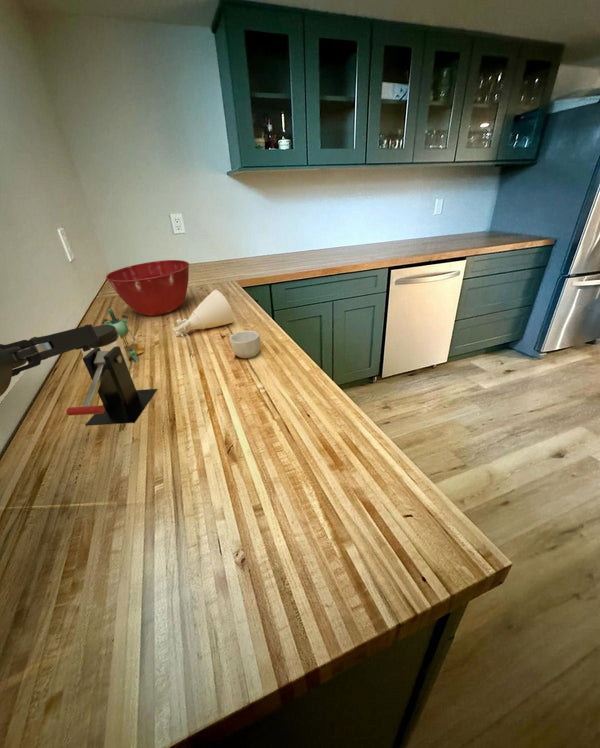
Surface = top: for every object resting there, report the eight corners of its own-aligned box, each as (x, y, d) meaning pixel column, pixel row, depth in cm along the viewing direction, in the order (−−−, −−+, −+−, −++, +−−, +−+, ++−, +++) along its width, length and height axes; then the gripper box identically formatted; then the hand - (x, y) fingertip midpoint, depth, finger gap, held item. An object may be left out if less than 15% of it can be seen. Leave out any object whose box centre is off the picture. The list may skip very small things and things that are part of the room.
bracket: (136, 427, 66) (111, 365, 59) (87, 429, 66) (56, 369, 59) (159, 393, 76) (139, 337, 69) (116, 395, 76) (92, 340, 69)
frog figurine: (109, 375, 85) (85, 318, 79) (111, 355, 101) (92, 306, 94) (148, 364, 89) (129, 309, 83) (145, 346, 104) (128, 299, 98)
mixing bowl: (153, 328, 112) (138, 282, 104) (104, 317, 125) (88, 275, 118) (213, 302, 132) (205, 261, 124) (165, 295, 146) (155, 258, 138)
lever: (104, 416, 59) (97, 409, 57) (71, 418, 59) (63, 411, 57) (124, 357, 67) (118, 349, 65) (95, 359, 67) (88, 351, 65)
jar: (128, 380, 82) (110, 335, 76) (92, 386, 81) (71, 341, 75) (134, 363, 90) (118, 321, 84) (101, 369, 88) (83, 327, 82)
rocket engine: (161, 310, 96) (215, 283, 103) (164, 324, 107) (213, 299, 114) (184, 343, 96) (236, 313, 103) (185, 354, 107) (232, 327, 114)
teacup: (266, 356, 88) (263, 337, 85) (238, 364, 85) (234, 345, 82) (252, 343, 96) (250, 325, 93) (226, 350, 93) (223, 332, 90)
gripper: (-178, 464, 31) (-28, 404, 51) (95, 365, 36) (135, 346, 56) (-238, 391, 29) (-58, 358, 49) (60, 297, 34) (114, 302, 54)
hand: (45, 352), depth 53 cm, fingers open, 13 cm apart
